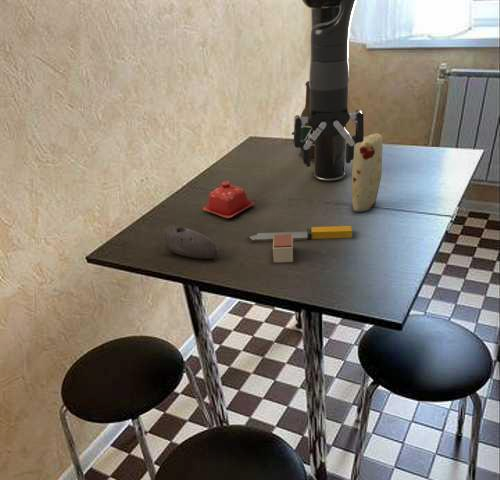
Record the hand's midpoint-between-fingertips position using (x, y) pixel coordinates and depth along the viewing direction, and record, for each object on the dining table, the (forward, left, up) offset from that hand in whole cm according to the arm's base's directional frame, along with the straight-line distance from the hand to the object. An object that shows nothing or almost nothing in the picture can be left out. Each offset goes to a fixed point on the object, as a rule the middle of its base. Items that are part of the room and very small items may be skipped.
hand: (327, 163), depth 105 cm
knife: (-9, -3, -22) cm, 24 cm away
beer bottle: (-61, +21, -22) cm, 68 cm away
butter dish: (-32, -16, -22) cm, 43 cm away
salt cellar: (-2, -10, -22) cm, 25 cm away
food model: (-17, +19, -22) cm, 34 cm away
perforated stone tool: (-12, -31, -22) cm, 40 cm away
